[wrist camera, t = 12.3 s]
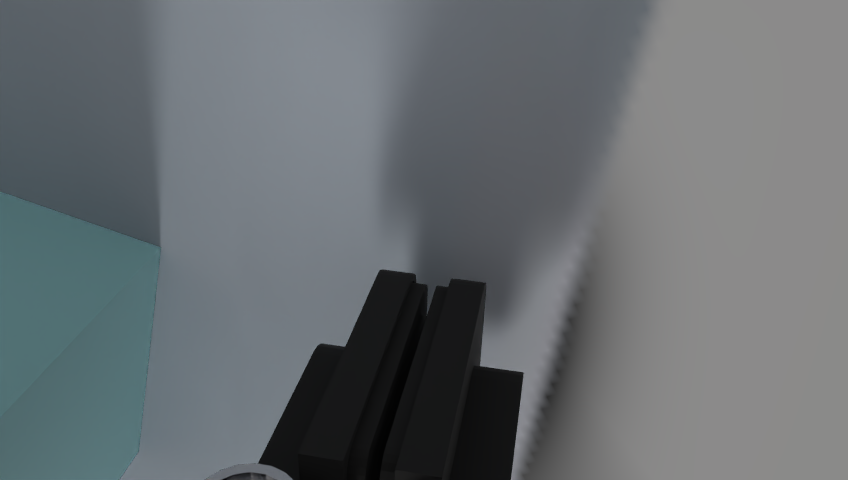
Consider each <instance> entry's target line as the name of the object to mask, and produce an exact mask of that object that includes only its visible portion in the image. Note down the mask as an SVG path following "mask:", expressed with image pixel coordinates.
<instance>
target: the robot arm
mask: <svg viewBox="0 0 848 480" xmlns="http://www.w3.org/2000/svg"><path fill="white" fill-rule="evenodd" d="M427 296H428V288H427V284H419V283H416V275H415V274H413V273H405V272H397V271H389V270H380V271H379V273H378V275H377V277H376V279H375V281H374V284H373V286H372V288H371V290H370V293H369V295H368V297H367V299H366V302H365V304H364V306H363V308H362V311H361V313H360V315H359V317H358V320H357V322H356V324H355V326H354V329H353V331H352V333H351V335H350V338H349V340H348V342H347V344H346V347H342V346H335V345H328V344H320V345H318V346H317V347H316V349H315V351H314V352H313V354H312V356H311V358H310V360H309V362H308V364H307V366H306V368H305V370H304V372H303V374H302V376H301V378H300V380H299V382H298V384H297V386H296V388H295V390H294V392H293V394H292V396H291V398H290V400H289V402H288V404H287V406H286V408H285V410H284V412H283V414H282V416H281V418H280V420H279V422H278V425H277V427H276V429H275V431H274V433H273V435H272V437H271V439H270V441H269V443H268V445H267V447H266V449H265V451H264V453H263V455H262V457H261V459H260V461H259V463H258V464H256V463H253V464H240V465H235V466H232V467H229V468H226V469H222V470H220V471H218V472H216V473H215V474H213V475H211V476H209V477H208V478H206V479H205V480H511V473H512V465H513V457H514V448H515V440H516V432H517V424H518V415H519V407H520V399H521V390H522V382H523V374H524V373H523V372H516V371H509V370H502V369H495V368H488V367H481V366H480V357H481V345H482V333H483V321H484V309H485V296H486V283H483V282H476V281H468V280H460V279H451V281H450V284H449V287H443V286H437V287H436V289H435V292H434V296H433V299H432V302H431V305H430V308H429V311H428V314H427Z"/></svg>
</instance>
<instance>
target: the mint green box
mask: <svg viewBox="0 0 848 480" xmlns="http://www.w3.org/2000/svg"><path fill="white" fill-rule="evenodd" d="M160 252H161V247H158V246H155V245H152V244H150V243H147V242H144V241H141V240H138V239H135V238H132V237H129V236H127V235H124V234H121V233H118V232H115V231H112V230H109V229H106V228H104V227H101V226H98V225H95V224H92V223H89V222H86V221H83V220H81V219H78V218H75V217H72V216H69V215H66V214H63V213H60V212H58V211H55V210H52V209H49V208H46V207H43V206H40V205H37V204H35V203H32V202H29V201H26V200H23V199H20V198H17V197H15V196H12V195H9V194H6V193H3V192H0V480H119V479H120V478H121V476H122V475H123V473H124V472H125V471H126V469H127V468H128V466H129V465H130V463H131V462H132V460H133V459H134V457H135V456H136V455H137V453H138V452H139V443H140V434H141V425H142V416H143V407H144V398H145V388H146V379H147V370H148V361H149V352H150V343H151V334H152V325H153V315H154V306H155V297H156V288H157V279H158V270H159V261H160Z"/></svg>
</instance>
